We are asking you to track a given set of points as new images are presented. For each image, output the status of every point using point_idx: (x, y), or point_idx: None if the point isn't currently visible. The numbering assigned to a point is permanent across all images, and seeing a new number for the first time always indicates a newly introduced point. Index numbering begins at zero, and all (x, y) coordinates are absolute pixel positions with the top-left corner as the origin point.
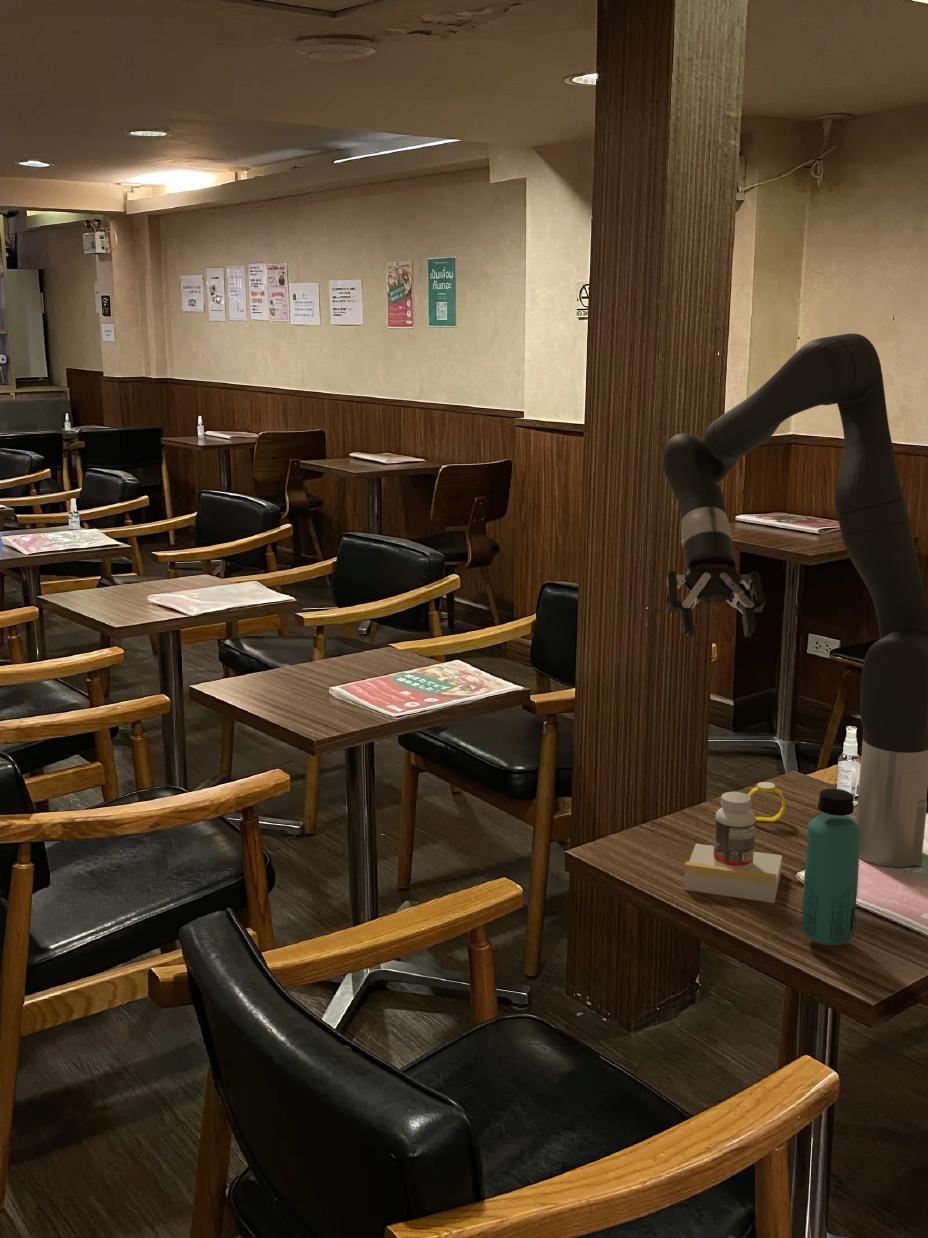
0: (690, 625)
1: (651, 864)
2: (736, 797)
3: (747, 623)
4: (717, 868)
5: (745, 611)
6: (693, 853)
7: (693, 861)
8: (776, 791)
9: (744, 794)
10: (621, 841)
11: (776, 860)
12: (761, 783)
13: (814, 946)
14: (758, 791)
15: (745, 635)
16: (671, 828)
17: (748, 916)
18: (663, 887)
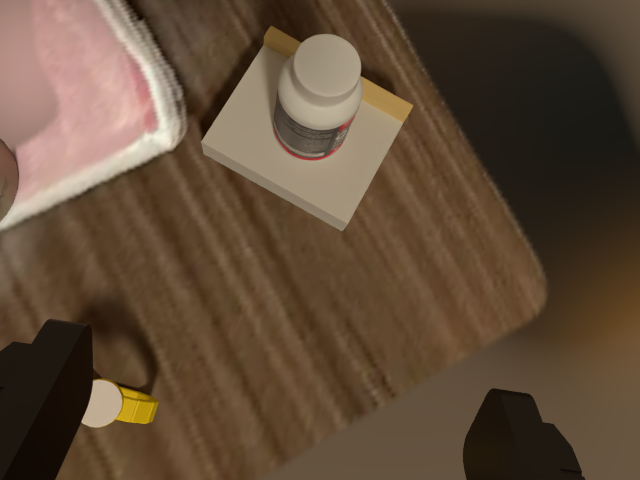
0: (531, 415)
1: (426, 229)
2: (328, 60)
3: (62, 361)
4: (361, 78)
5: (9, 462)
6: (367, 182)
7: (379, 150)
8: None
9: (302, 72)
10: (456, 338)
11: (222, 124)
12: (104, 418)
13: None
14: (124, 396)
15: (90, 385)
16: (338, 385)
17: (328, 23)
18: (431, 140)
